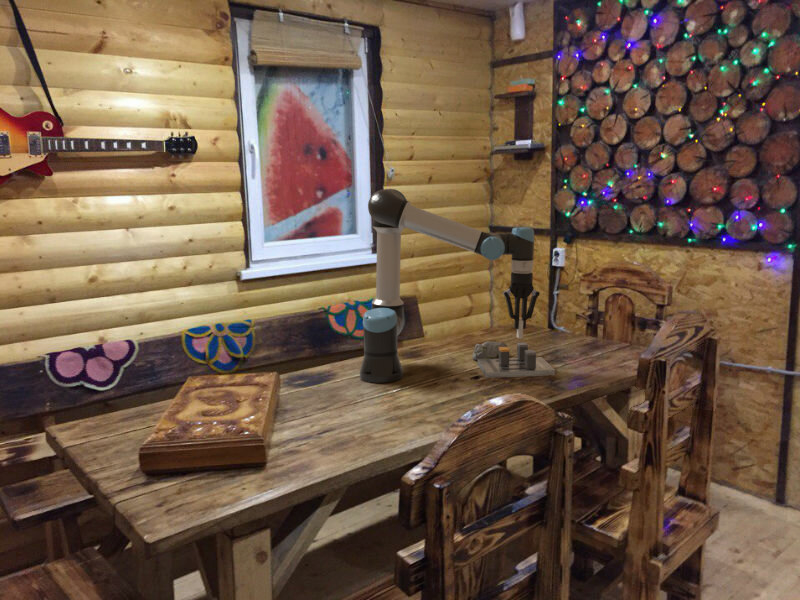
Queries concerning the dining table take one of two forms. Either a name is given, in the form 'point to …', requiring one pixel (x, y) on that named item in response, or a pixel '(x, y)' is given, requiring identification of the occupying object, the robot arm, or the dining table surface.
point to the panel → (514, 368)
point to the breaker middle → (503, 356)
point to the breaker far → (521, 350)
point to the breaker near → (530, 359)
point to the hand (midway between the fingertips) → (519, 337)
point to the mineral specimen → (487, 350)
